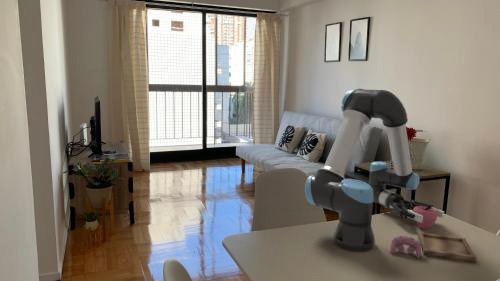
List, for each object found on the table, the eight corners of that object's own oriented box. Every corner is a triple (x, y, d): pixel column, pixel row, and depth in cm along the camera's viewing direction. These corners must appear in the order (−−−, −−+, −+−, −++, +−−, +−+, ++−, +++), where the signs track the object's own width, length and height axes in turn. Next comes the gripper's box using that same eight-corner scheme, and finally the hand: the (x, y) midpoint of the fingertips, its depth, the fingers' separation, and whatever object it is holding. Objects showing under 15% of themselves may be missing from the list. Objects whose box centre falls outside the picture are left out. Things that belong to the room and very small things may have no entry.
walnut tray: (423, 255, 133) (424, 250, 133) (418, 237, 148) (419, 232, 148) (475, 262, 128) (475, 257, 128) (464, 243, 143) (465, 238, 143)
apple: (433, 224, 161) (435, 202, 159) (438, 233, 152) (441, 209, 151) (409, 222, 163) (411, 200, 161) (413, 230, 155) (415, 207, 153)
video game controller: (420, 259, 134) (421, 239, 135) (420, 259, 130) (422, 238, 131) (390, 253, 138) (392, 234, 139) (389, 253, 134) (391, 233, 135)
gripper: (410, 205, 178) (451, 221, 159) (371, 212, 168) (410, 230, 149) (411, 189, 177) (453, 204, 158) (372, 195, 167) (412, 212, 148)
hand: (432, 217), depth 153 cm, fingers open, 11 cm apart
